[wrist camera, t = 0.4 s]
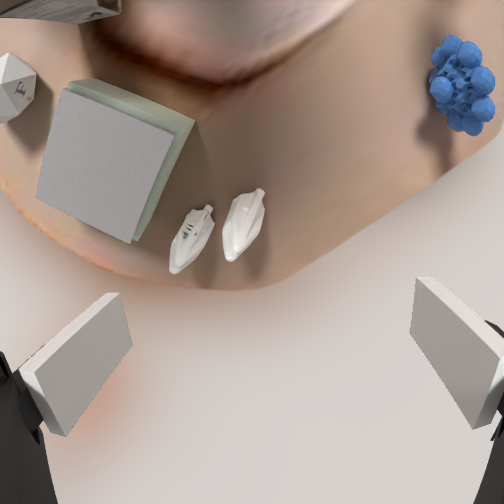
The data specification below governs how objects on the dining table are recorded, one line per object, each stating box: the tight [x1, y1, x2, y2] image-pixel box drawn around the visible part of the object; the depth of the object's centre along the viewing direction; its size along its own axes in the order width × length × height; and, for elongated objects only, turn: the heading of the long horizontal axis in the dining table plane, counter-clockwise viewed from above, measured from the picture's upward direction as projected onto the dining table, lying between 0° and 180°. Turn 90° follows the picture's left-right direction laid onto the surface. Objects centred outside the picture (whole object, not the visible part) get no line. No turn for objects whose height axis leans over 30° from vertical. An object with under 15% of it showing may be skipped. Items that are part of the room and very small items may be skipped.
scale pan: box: [36, 88, 177, 244], centre depth 29 cm, size 13×13×1 cm
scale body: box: [67, 78, 196, 242], centre depth 33 cm, size 15×14×7 cm
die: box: [0, 52, 37, 123], centre depth 26 cm, size 8×9×10 cm
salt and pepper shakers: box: [169, 188, 265, 274], centre depth 36 cm, size 12×4×11 cm, turn 112°
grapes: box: [429, 35, 495, 136], centre depth 25 cm, size 12×7×12 cm, turn 21°
